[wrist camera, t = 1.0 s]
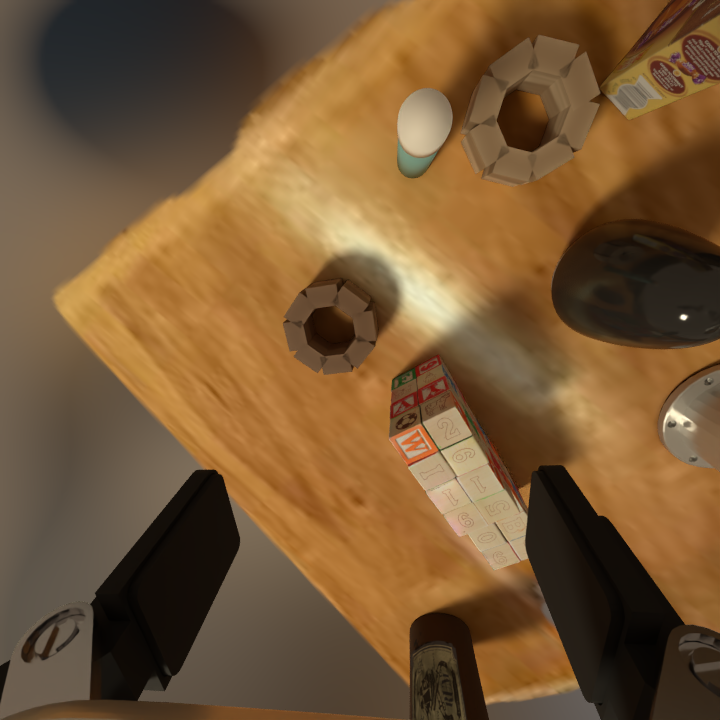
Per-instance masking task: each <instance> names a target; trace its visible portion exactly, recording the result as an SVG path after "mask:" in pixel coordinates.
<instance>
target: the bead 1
mask: <svg viewBox="0 0 720 720" xmlns="http://www.w3.org/2000/svg"><path fill="white" fill-rule="evenodd" d="M370 299H371V296H370V295H368V294H367V293H366V292H364V291H363V290H361V289H360V288H359V287H357V286H356V285H355V284H353V283H352V282H351V281H349V280H347V282H346V283H345V284H344V285H343V281H342V278H339V279H333V280H326V281H320V282H314V283H313V284H311V285H310V286H308V287H307V288H305V289H304V290H302V291H301V292H300V293H299V294H298V296H297V297H296V299H295V300H294V302H293V303H292V305H291V307H290V308H289V310H288V311H287V313H286V314H285V316H284V317H285V318H286V319H287V320H286V321H285V322H284V323H283V326H284V330H285V334H286V338H287V342H288V346H289V350H290V351H297V350H298V351H297V352H296V354H295V355H294V357H295V358H296V359H298V360H299V361H301V362H302V363H303V364H305V365H306V366H308V367H309V368H311V369H312V370H314V371H315V372H317V373H318V372H319V371H320V369H321V368H322V369H323V373H324V375H326V374H335V373H344V372H352V370H353V367H354V366H355V367H356V368H357V369H358V367H359V366H360V365H361V364H362V362H363V361H364V360H365V359H366V357H367V356H368V355H369V354H370V352H371V351H372V350H373V349H374V347H375V344H376V340H377V335H378V323H377V316H376V309H375V302H372V303H369V302H370ZM329 306H336V307H338V308H339V309H340V310H342V311H343V312H345V313H346V314H347V315H349V316H350V317H351V318H353V324H354V330H355V334H354V336H353V337H352V338H351V340H350V341H349V342H342V343H335V344H330V343H329V342H328V341H326V340H325V339H323V338H322V337H321V336H319V335H318V334H316V331H315V327H314V322H313V317H312V315H313V313H314V312H315V310H316V309H317V308H322V307H329Z"/></svg>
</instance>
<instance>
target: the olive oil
mask: <svg viewBox="0 0 720 720" xmlns="http://www.w3.org/2000/svg"><path fill="white" fill-rule="evenodd" d="M410 720H489V718H488V713H487V709H486V704H485V700H484V695H483V691H482V686H481V682H480V678H479V673H478V668H477V664H476V659H475V654H474V649H473V644H472V640H471V635H470V631H469V629H468V627H467V626H466V624H465V623H464V622H462V621H461V620H460V619H458V618H456V617H454V616H451V615H447V614H428V615H425V616H422V617H420V618H418V619H417V620H416V621H415V622H414V623H413V624H412V625H411V628H410Z"/></svg>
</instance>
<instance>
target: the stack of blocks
mask: <svg viewBox="0 0 720 720" xmlns="http://www.w3.org/2000/svg"><path fill="white" fill-rule="evenodd" d="M391 392H392V398H391V406H390V430H389V440H390V441H391V443H392V444H393V445H394V447H395V448H396V450H397V451H398V452H399V454H400V455H401V457H402V458H403V460H404V461H405V462H406V464H408V468H409V470H410V471H411V472H412V474H413V475H414V476H415V478H416V479H417V481H418V482H419V483H420V485H421V486H422V487H423V489H424V490H425V491H426V494H427V495H428V497H429V498H430V499H431V500H432V502H433V503H434V505H435V506H436V507H437V509H438V510H439V511H440V513H441V514H443V515H444V518H445V519H446V520H447V522H448V523H449V524H450V526H451V527H452V528H453V530H454V531H455V532H456V534H457V535H458V536H459V537H461V536H463V535H466V534H468V535H469V537H470V538H471V540H472V541H473V543H474V544H475V545H476V547H477V548H478V550H479V551H480V552H482V554H483V555H484V557H485V558H486V560H487V561H488V563H489V564H490V566H491V567H492V568H493V570H497V569H500V568H502V567H506V566H509V565H512V564H515V563H518V562H520V561H521V560H525V559H528V555H527V552H526V547H525V536H526V526H527V517H528V508H527V506H526V505H525V503H524V501H523V498H522V496H521V494H520V492H519V490H518V488H517V487H516V485H515V484H514V482H513V480H512V478H511V476H510V474H509V472H508V471H507V469H506V467H505V466H504V464H503V462H502V461H501V459H500V457H499V456H498V454H497V452H496V450H495V449H494V447H493V445H492V444H491V442H490V440H489V438H488V437H487V436H486V435H485V433H484V431H483V430H482V428H481V426H480V424H479V423H478V421H477V419H476V418H475V416H474V415H473V413H472V411H471V410H470V408H469V406H468V404H467V403H466V401H465V399H464V397H463V395H462V393H461V391H460V390H459V388H458V386H457V385H456V383H455V381H454V379H453V378H452V376H451V374H450V372H449V370H448V369H447V367H446V365H445V363H444V362H443V360H442V358H441V357H440V355H437V356H435V357H433V358H431V359H430V360H428V361H426V362H424V363H422V364H420V365H418V366H416V367H415V368H414V369H412V370H410V371H408V372H406V373H404V374H402V375H400V376H398V377H397V378H395V379H393V380H392V387H391Z"/></svg>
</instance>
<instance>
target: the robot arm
mask: <svg viewBox="0 0 720 720" xmlns="http://www.w3.org/2000/svg"><path fill="white" fill-rule="evenodd" d="M658 434H659V437H660V440H661V442H662V443H663V445H664V447H665V448H666V449H667V450H668V451H669V452H670V453H671V454H673V455H674V456H675V457H677V458H678V459H679V460H681V461H683V462H685V463H687V464H689V465H693V466H697V467H704V468H715V469H717V470H718V471H719V472H720V365H716V366H713V367H711V368H708V369H706V370H703V371H701V372H699V373H697V374H696V375H694V376H692V377H690V378H689V379H688V380H686V381H685V382H684V383H682V384H681V385H680V386H679V387H678V388H677V389H676V390H675V391H674V392H673V393H672V394H671V395H670V396H669V398H668V399H667V401H666V402H665V404H664V405H663V408H662V410H661V412H660V415H659V420H658ZM239 546H240V536H239V533H238V529H237V526H236V522H235V518H234V515H233V511H232V508H231V504H230V501H229V497H228V494H227V490H226V486H225V483H224V479H223V477H222V475H220V474H218V472H217V471H216V470H196V471H195V472H194V473H193V474H192V475H191V476H190V477H189V479H188V480H187V481H186V482H185V483H184V485H183V486H182V487H181V488H180V490H179V491H178V492H177V494H175V496H174V497H173V498H172V500H171V501H170V502H169V503H168V504H167V505H166V507H165V508H164V509H163V510H162V512H161V513H160V514H159V515H158V516H157V518H156V519H155V520H154V521H153V523H152V524H151V525H150V526H149V528H148V529H147V530H146V531H145V533H144V534H143V535H142V536H141V537H140V539H139V540H138V541H137V542H136V543H135V545H134V546H133V547H132V548H131V550H130V551H129V552H128V553H127V555H126V556H125V557H124V558H123V559H122V561H121V562H120V563H119V564H118V565H117V567H116V568H115V569H114V570H113V572H112V573H111V574H110V575H109V577H108V578H107V579H106V580H105V581H104V583H103V584H102V585H101V586H100V588H99V589H98V590H97V591H96V593H95V594H96V598H95V599H94V600H93V601H92V603H91V604H88V603H87V602H80V601H78V602H73V603H69V604H66V605H64V606H61V607H59V608H57V609H55V610H53V611H52V612H50V613H48V614H47V615H45V616H44V617H43V618H42V619H40V620H39V621H38V622H36V623H35V624H34V625H33V626H32V627H31V628H30V629H29V630H28V631H27V632H26V633H25V634H24V635H23V637H22V638H21V640H20V641H19V642H18V644H17V645H16V647H15V649H14V652H13V654H12V657H11V660H9V661H8V662H6V663H4V664H3V665H1V666H0V720H404V719H390V718H378V717H365V716H352V715H338V714H325V713H311V712H297V711H284V710H269V709H257V708H241V707H227V706H213V705H198V704H184V703H169V702H148V701H138V698H139V697H140V695H141V693H142V691H143V689H144V690H154V691H165V690H166V688H167V686H168V684H169V681H170V680H171V677H172V676H174V675H176V674H177V673H178V672H179V671H180V669H181V667H182V665H183V663H184V661H185V659H186V657H187V655H188V653H189V651H190V649H191V647H192V645H193V643H194V641H195V638H196V636H197V634H198V632H199V630H200V628H201V626H202V624H203V622H204V620H205V618H206V616H207V614H208V611H209V610H210V607H211V605H212V603H213V601H214V599H215V597H216V595H217V593H218V591H219V589H220V587H221V585H222V583H223V581H224V579H225V576H226V574H227V572H228V570H229V568H230V566H231V564H232V562H233V560H234V558H235V556H236V554H237V551H238V549H239ZM525 547H526V552H527V555H528V558H529V561H530V563H531V566H532V568H533V571H534V573H535V576H536V578H537V581H538V583H539V586H540V588H541V591H542V593H543V596H544V598H545V601H546V603H547V606H548V608H549V611H550V613H551V616H552V618H553V621H554V623H555V626H556V628H557V631H558V634H559V636H560V639H561V641H562V644H563V646H564V649H565V651H566V654H567V656H568V659H569V661H570V664H571V666H572V669H573V671H574V674H575V676H576V679H577V681H578V684H579V686H580V689H581V691H582V694H583V696H584V698H585V699H586V701H587V702H589V703H594V704H595V706H596V709H597V711H598V713H599V716H600V719H601V720H720V633H718V632H715V631H713V630H711V629H708V628H705V627H700V626H696V625H685V624H684V622H683V621H682V620H681V618H680V617H679V616H678V614H677V613H676V611H675V610H674V609H673V607H672V606H671V604H670V603H669V602H668V600H667V599H666V598H665V596H664V595H663V593H662V592H661V591H660V589H659V588H658V586H657V585H656V584H655V582H654V581H653V580H652V578H651V577H650V575H649V574H648V573H647V571H646V570H645V569H644V567H643V566H642V564H641V563H640V562H639V560H638V559H637V557H636V556H635V555H634V553H633V552H632V551H631V549H630V548H629V546H628V545H627V544H626V542H625V541H624V539H623V538H622V537H621V535H620V534H619V533H618V531H617V530H616V528H615V527H614V526H613V524H612V523H611V522H610V521H609V520H608V519H607V518H606V517H604V516H598V515H597V513H596V512H595V510H594V509H593V508H592V506H591V505H590V503H589V502H588V500H587V499H586V497H585V496H584V495H583V493H582V492H581V490H580V489H579V487H578V486H577V485H576V483H575V482H574V480H573V479H572V477H571V476H570V474H569V473H568V472H567V470H566V469H565V468H564V467H563V466H562V465H549V466H540V467H539V468H538V471H533V472H532V478H531V488H530V497H529V507H528V517H527V526H526V536H525Z"/></svg>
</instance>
